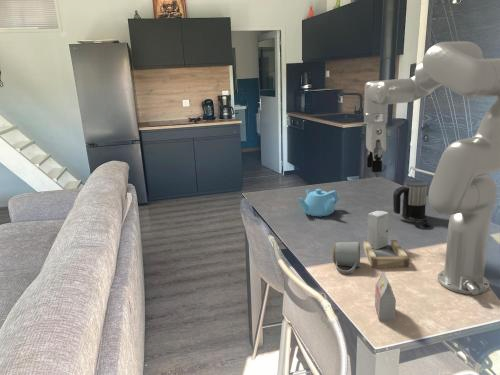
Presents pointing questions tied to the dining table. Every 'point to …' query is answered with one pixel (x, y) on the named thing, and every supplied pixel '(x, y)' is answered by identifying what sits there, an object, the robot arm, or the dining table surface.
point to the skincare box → (378, 229)
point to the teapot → (319, 202)
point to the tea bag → (384, 300)
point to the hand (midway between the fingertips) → (374, 168)
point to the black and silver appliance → (412, 201)
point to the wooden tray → (386, 256)
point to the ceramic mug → (346, 255)
